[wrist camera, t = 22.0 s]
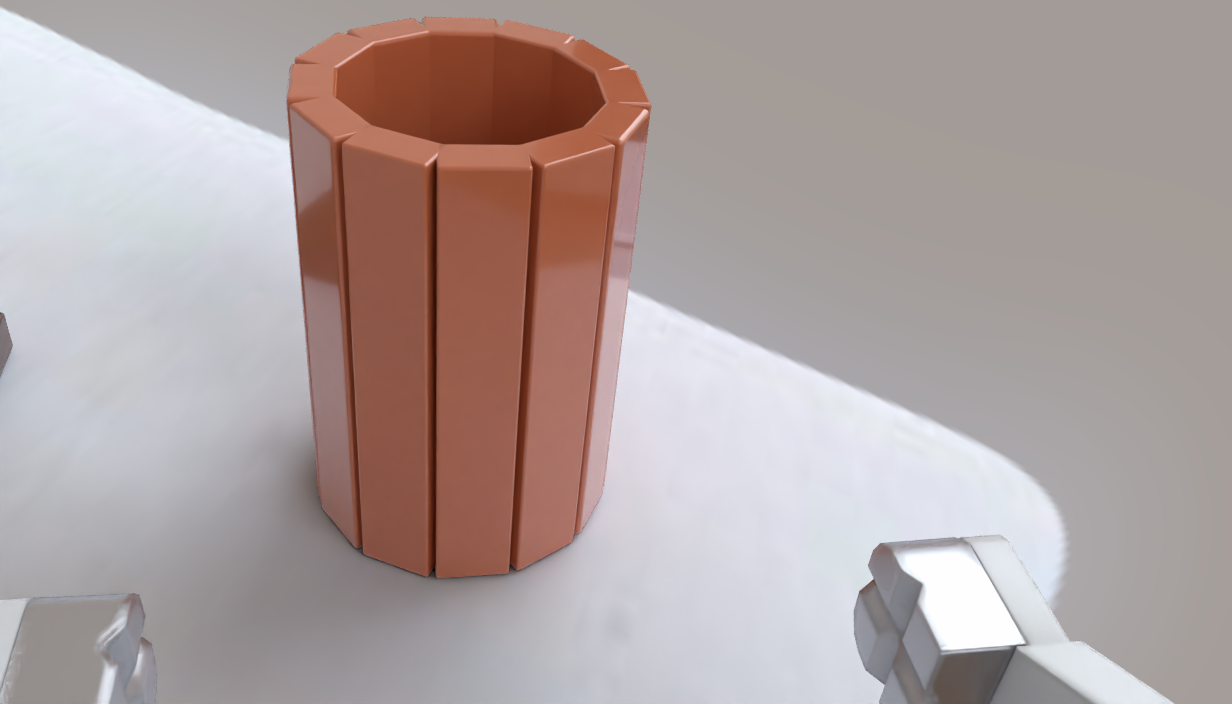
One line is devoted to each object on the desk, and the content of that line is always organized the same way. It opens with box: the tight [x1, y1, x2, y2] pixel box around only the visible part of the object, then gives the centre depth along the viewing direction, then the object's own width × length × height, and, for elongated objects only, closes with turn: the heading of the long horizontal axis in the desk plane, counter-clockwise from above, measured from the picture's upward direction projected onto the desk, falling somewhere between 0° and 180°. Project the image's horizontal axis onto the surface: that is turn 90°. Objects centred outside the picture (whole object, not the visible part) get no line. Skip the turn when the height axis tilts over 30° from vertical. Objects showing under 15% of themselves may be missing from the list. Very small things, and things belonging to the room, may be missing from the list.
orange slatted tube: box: [286, 17, 651, 578], centre depth 22 cm, size 6×6×9 cm
